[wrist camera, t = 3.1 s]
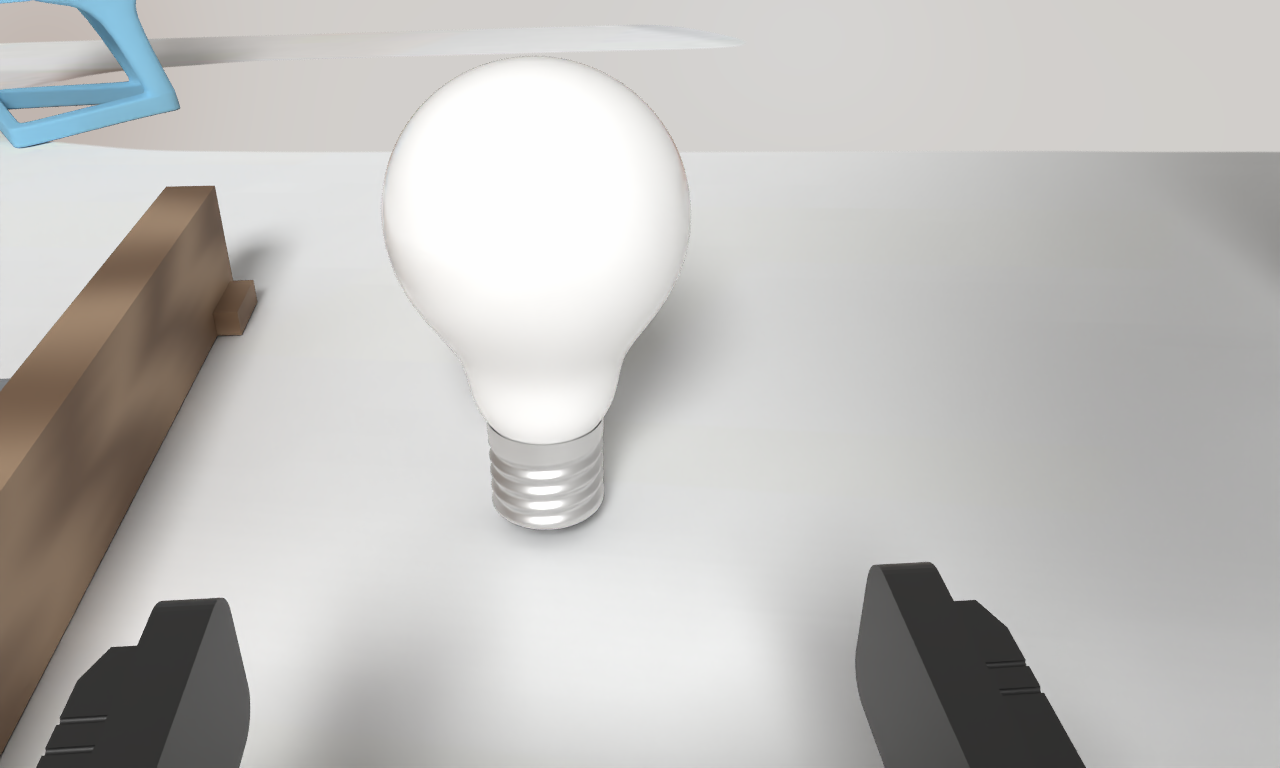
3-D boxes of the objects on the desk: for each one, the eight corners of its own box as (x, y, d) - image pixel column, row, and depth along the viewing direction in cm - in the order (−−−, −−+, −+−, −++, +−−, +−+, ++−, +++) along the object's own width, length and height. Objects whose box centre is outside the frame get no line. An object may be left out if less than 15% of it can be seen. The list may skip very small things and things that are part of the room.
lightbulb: (361, 552, 25) (290, 76, 20) (508, 423, 30) (485, 13, 24) (602, 641, 23) (600, 127, 17) (719, 484, 28) (746, 46, 22)
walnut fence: (168, 300, 36) (141, 187, 34) (259, 298, 37) (238, 185, 35) (-391, 1173, 14) (-559, 994, 12) (-147, 1149, 14) (-270, 971, 12)
